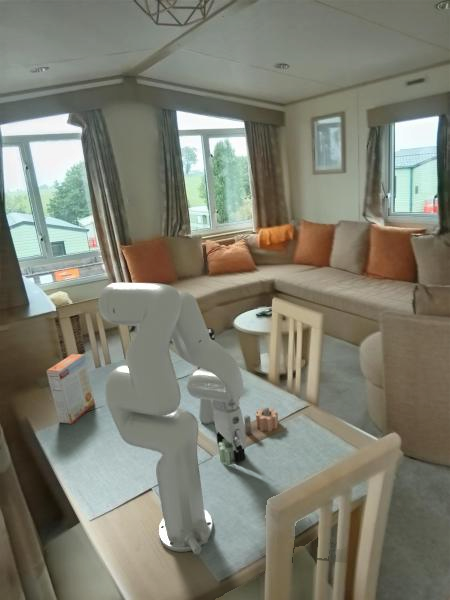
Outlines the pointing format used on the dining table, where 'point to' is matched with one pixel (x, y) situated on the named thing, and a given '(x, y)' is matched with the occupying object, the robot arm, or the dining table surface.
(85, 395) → the cracker box
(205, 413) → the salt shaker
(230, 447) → the green gear
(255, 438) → the gear board
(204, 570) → the dining table surface
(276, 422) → the terracotta gear
